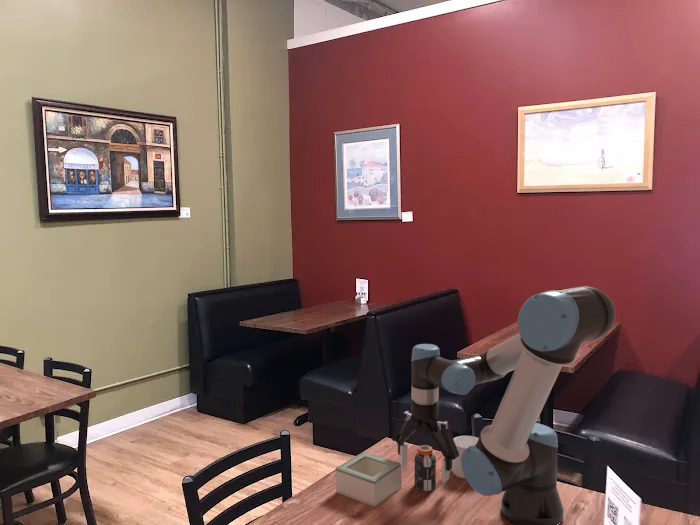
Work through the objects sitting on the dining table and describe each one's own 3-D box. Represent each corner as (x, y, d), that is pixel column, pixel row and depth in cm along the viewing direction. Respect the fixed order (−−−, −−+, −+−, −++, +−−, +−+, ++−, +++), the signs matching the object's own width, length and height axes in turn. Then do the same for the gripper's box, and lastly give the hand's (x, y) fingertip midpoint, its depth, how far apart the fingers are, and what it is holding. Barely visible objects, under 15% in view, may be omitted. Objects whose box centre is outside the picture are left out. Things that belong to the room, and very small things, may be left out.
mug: (485, 480, 165) (486, 448, 164) (453, 479, 165) (454, 448, 164) (479, 461, 177) (479, 432, 176) (449, 460, 177) (449, 431, 176)
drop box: (401, 487, 161) (401, 463, 160) (374, 507, 151) (374, 481, 150) (364, 474, 169) (363, 451, 168) (336, 492, 159) (335, 468, 158)
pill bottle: (435, 492, 158) (435, 453, 157) (413, 490, 159) (413, 451, 158) (436, 482, 164) (436, 444, 162) (415, 480, 165) (415, 442, 164)
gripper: (472, 406, 154) (470, 481, 157) (394, 387, 169) (394, 455, 172) (459, 415, 148) (458, 492, 151) (380, 394, 163) (379, 465, 166)
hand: (424, 473), depth 161 cm, fingers open, 13 cm apart
